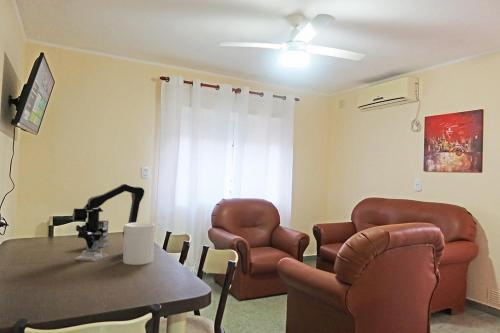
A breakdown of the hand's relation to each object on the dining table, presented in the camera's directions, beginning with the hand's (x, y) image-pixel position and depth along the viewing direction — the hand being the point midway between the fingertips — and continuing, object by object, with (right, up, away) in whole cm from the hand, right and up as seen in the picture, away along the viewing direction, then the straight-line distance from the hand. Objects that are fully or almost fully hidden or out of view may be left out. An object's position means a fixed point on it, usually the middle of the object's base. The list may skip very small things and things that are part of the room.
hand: (92, 247), depth 188 cm
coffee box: (-9, -6, +27) cm, 29 cm away
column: (0, -3, 0) cm, 3 cm away
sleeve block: (0, -6, 0) cm, 6 cm away
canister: (+27, -7, -3) cm, 28 cm away
